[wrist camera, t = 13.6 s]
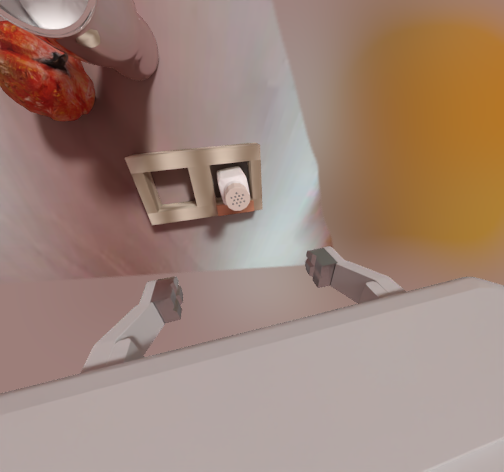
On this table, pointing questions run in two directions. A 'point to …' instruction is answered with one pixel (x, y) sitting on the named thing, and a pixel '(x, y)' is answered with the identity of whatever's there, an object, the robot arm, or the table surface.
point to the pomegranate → (43, 76)
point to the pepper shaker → (233, 188)
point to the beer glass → (90, 32)
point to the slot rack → (194, 180)
